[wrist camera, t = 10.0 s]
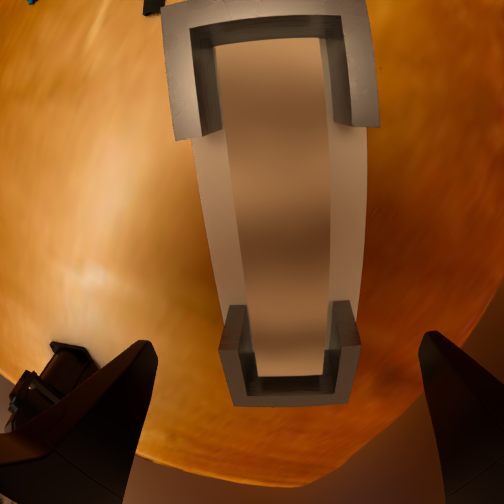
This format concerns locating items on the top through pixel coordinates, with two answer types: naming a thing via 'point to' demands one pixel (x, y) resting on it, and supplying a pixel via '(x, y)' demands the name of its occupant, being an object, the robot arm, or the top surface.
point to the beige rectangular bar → (280, 195)
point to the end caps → (209, 121)
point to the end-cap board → (341, 209)
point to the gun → (151, 3)
